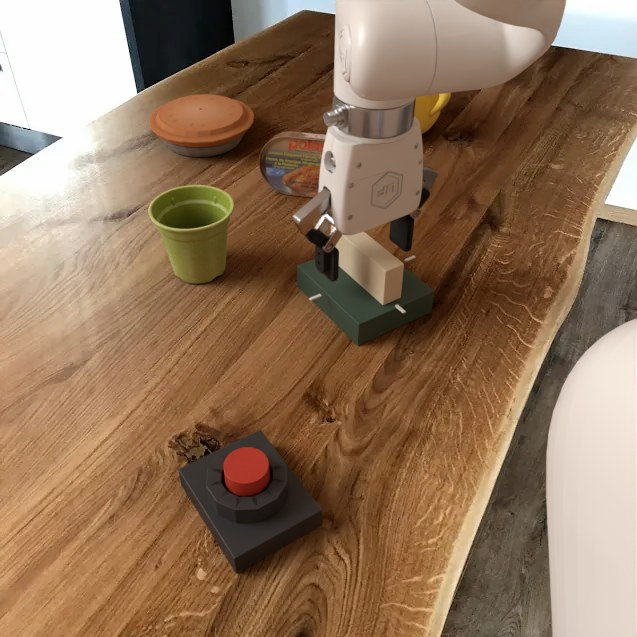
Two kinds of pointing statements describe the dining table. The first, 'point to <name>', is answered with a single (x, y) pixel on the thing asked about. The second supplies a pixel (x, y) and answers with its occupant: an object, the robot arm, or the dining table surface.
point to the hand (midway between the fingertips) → (364, 259)
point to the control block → (250, 505)
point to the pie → (201, 124)
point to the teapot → (429, 109)
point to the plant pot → (194, 230)
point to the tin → (293, 163)
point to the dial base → (364, 302)
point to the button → (246, 471)
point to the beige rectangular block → (371, 266)
